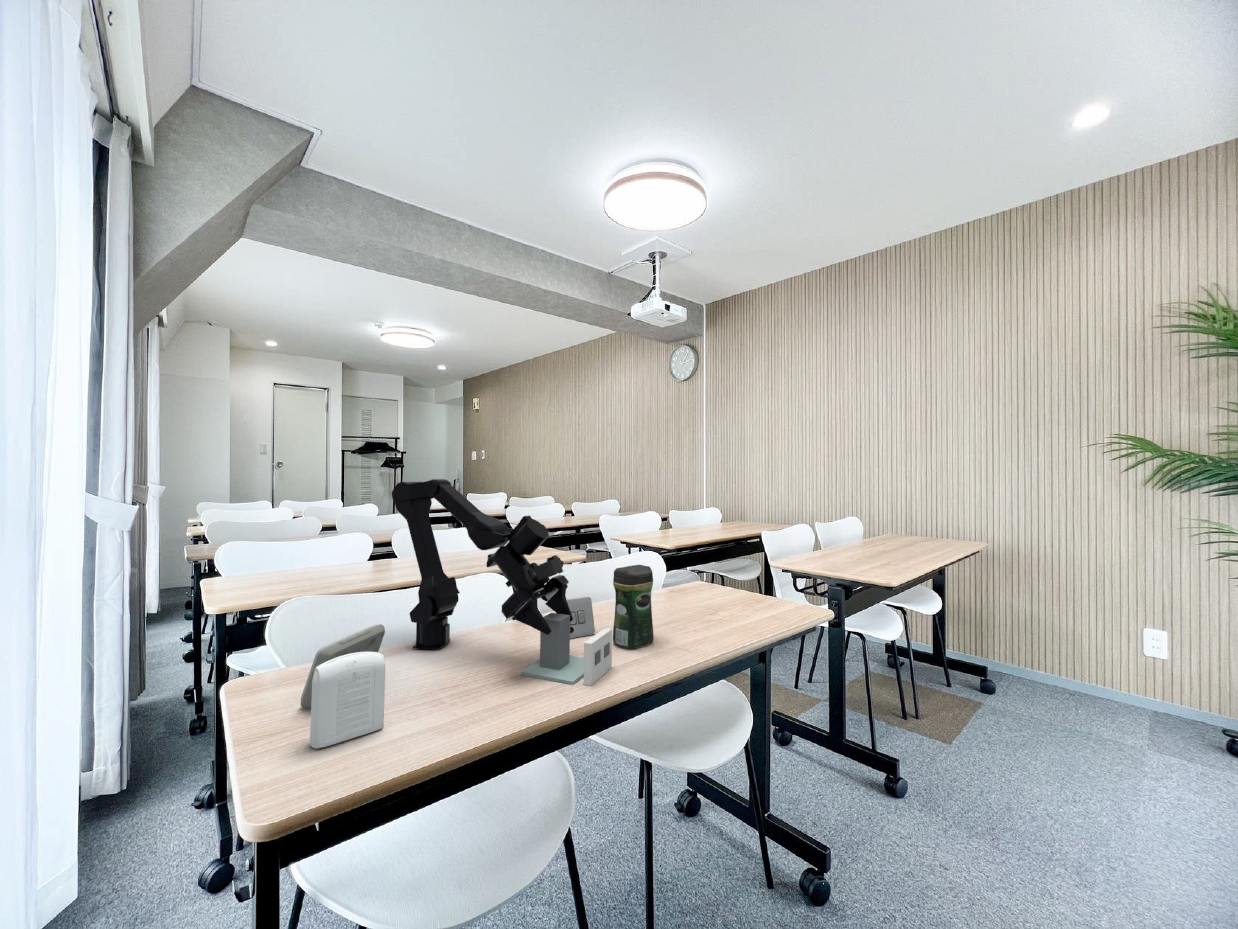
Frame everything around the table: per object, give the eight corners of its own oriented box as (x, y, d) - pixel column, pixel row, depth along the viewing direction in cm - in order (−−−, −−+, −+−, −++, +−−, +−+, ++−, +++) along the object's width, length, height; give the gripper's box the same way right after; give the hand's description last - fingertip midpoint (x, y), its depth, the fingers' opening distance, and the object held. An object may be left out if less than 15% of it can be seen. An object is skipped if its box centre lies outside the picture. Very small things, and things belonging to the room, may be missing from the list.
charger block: (539, 666, 103) (540, 618, 103) (550, 659, 107) (551, 612, 108) (559, 670, 102) (559, 621, 102) (569, 662, 106) (570, 615, 106)
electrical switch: (561, 641, 121) (560, 602, 122) (553, 637, 125) (552, 599, 126) (595, 635, 126) (594, 597, 127) (586, 631, 130) (585, 595, 131)
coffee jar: (636, 635, 126) (637, 561, 126) (658, 643, 120) (659, 566, 120) (606, 643, 120) (607, 565, 120) (628, 652, 114) (629, 570, 114)
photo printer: (378, 719, 82) (380, 643, 82) (388, 729, 79) (389, 650, 79) (306, 742, 75) (308, 659, 75) (313, 754, 72) (315, 667, 72)
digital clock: (366, 673, 101) (368, 620, 101) (400, 680, 97) (401, 625, 98) (286, 707, 86) (287, 645, 86) (321, 717, 82) (322, 653, 83)
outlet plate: (582, 684, 96) (583, 642, 97) (604, 666, 106) (604, 628, 106) (591, 686, 96) (592, 644, 96) (612, 667, 105) (612, 629, 105)
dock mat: (520, 674, 101) (520, 671, 101) (550, 655, 112) (550, 652, 112) (573, 685, 96) (573, 681, 96) (599, 663, 107) (599, 660, 107)
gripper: (514, 550, 98) (563, 614, 93) (561, 539, 115) (604, 592, 111) (481, 587, 101) (527, 650, 96) (531, 570, 118) (572, 623, 113)
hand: (561, 627), depth 104 cm, fingers open, 9 cm apart
